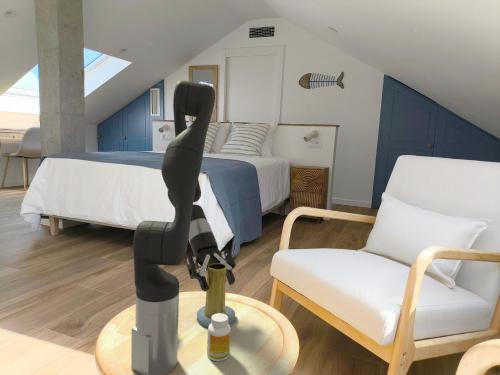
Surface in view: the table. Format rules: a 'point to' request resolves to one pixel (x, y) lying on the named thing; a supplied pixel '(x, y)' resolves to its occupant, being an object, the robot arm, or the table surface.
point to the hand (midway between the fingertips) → (219, 287)
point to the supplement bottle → (218, 338)
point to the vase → (215, 290)
